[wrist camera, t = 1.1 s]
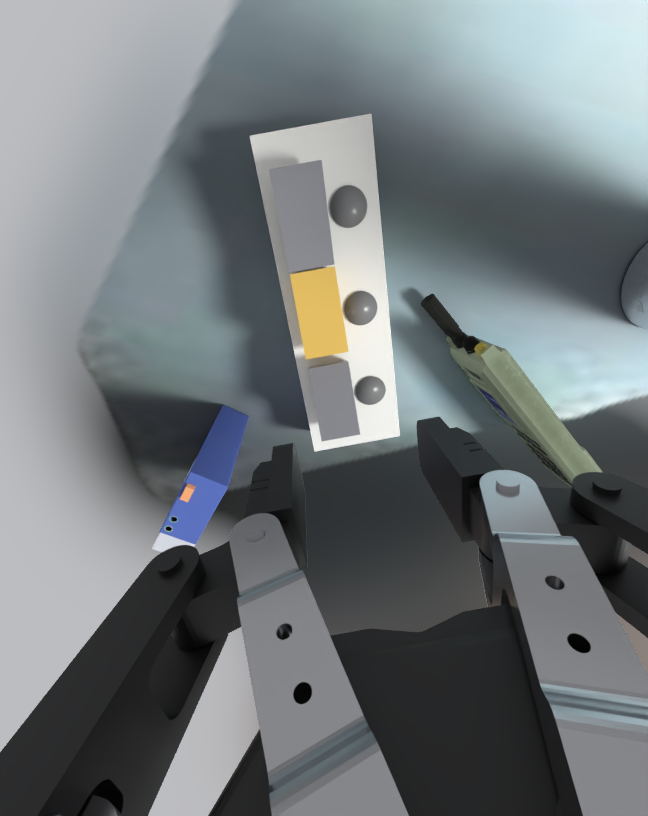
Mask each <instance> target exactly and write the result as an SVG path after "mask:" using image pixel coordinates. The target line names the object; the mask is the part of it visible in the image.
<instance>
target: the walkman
mask: <svg viewBox="0 0 648 816" xmlns="http://www.w3.org/2000/svg"><path fill="white" fill-rule="evenodd" d="M248 417H249V416H247V415H244V414H242V413H240V412H238V411H236V410H234V409H232V408H229V407H227V406H225V405H223V406H222V408H221V410H220V412H219V414H218V416H217V418H216V420H215V422H214V424H213V426H212V428H211V430H210V431H209V433H208V435H207V437H206V439H205V441H204V443H203V445H202V447H201V449H200V451H199V453H198V455H197V457H196V459H195V461H194V463H193V465H192V467H191V469H190V471H189V473H188V475H187V477H186V479H185V480H184V483H183V485H182V487H181V489H180V492H179V494H178V496H177V498H176V500H175V502H174V504H173V506H172V508H171V510H170V512H169V514H168V516H167V518H166V520H165V522H164V524H163V526H162V528H161V530H160V533H159V535H158V537H157V539H156V541H155V543H154V545H153V547H152V549H154V550H157V551H160V552H164V551H165V550H167V549H170V548H172V547H175V546H179V545H190V546H193V547H194V546H195V544H196V543H197V541H198V539H199V537H200V535H201V534H202V532H203V530H204V528H205V526H206V524H207V523H208V521H209V520H210V518H211V516H212V514H213V512H214V511H215V509H216V507H217V505H218V503H219V502H220V500H221V498H222V497H223V495H224V493H225V491H226V490H227V488H228V485H229V481H230V478H231V475H232V471H233V468H234V465H235V461H236V458H237V454H238V451H239V448H240V444H241V441H242V438H243V434H244V431H245V427H246V424H247V421H248Z"/></svg>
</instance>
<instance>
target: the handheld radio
mask: <svg viewBox="0 0 648 816" xmlns="http://www.w3.org/2000/svg"><path fill="white" fill-rule="evenodd" d="M421 305H422V306H423V307H424V308H425V310H426V311H427V312H428V313H429V314H430V316H431V317H432V318H433V319H434V320H435V322H436V323H437V324H438V325H439V327H440V328H441V329H442V330H443V331H444V333H445V334H446V335H447V336H448V337H447V338H446V340H447V342H448V344H449V346H450V353H451V355H452V357H453V359H454V360H455V361H456V363H457V364H458V365H459V366H460V367H461V369H462V370H463V371H464V372H465V373H466V375H467V376H468V377H469V378H470V380H469V381H470V382H471V383H472V384H473V385H474V387H475V388H476V389H477V390H478V391H479V393H480V394H481V395H482V396H483V397H484V398H485V400H486V401H487V402H488V403H489V404H490V406H491V407H492V408H493V409H494V410H495V411H496V413H497V414H498V416H500V417H502V418H503V419H504V420H505V421H506V422H507V423H508V424H509V426H510V427H511V428H512V429H513V430H514V431H515V432H516V434H517V435H518V436H519V437H520V438H521V440H522V441H523V442H524V443H525V444H526V445H527V447H528V448H529V449H530V450H531V451H532V452H533V453H534V455H535V456H536V457H537V458H538V459H539V461H540V462H541V463H542V464H543V465H544V466H545V467H546V468H547V469H548V470H550V471H551V472H552V473H553V474H555V475H556V476H557V477H559V478H560V479H561V480H562V481H564V482H565V483H566V484H567V485H569V486H570V487H571V488H572V482H573V479H574V478H575V477H576V476H577V475H579V474H582V473H587V472H602V471H601V470H600V468H599V467H598V465H597V464H596V463H595V461H594V460H593V459H592V457H591V456H590V455H589V453H588V452H587V451H586V449H584V448H583V447H581V446H579V445H578V443H577V442H576V441H575V440H574V438H573V437H572V435H571V434H570V433H569V431H568V430H567V429H566V428H565V426H564V425H563V424H562V422H561V421H560V420H559V418H558V417H557V416H556V414H555V413H554V412H553V410H552V409H551V408H550V406H549V405H548V404H547V402H546V401H545V400H544V398H543V397H542V396H541V394H540V393H539V392H538V391H537V389H536V388H535V387H534V385H533V384H532V383H531V381H530V380H529V379H528V377H527V376H526V375H525V373H524V372H523V371H522V369H521V368H520V367H519V365H518V364H517V363H516V361H515V360H514V359H513V358H512V356H511V355H510V354H509V352H508V351H507V350H506V349H503V348H501V347H498V346H496V345H493V344H490V343H488V342H485V341H483V340H480V339H478V338H475V337H474V336H468V335H466V334H465V333H464V332H462V331H461V329H460V328H459V325H458V324H457V323H456V322H455V320H454V319H453V318H452V317H451V315H450V314H449V313H448V312H447V310H446V309H445V308H444V307H443V305H442V304H441V303H440V302H439V300H438V299H437V298H436V297H435V295H434V294H431V295H429V296H427V297H426V298H425V299H424V300H423V301H422V303H421Z"/></svg>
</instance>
